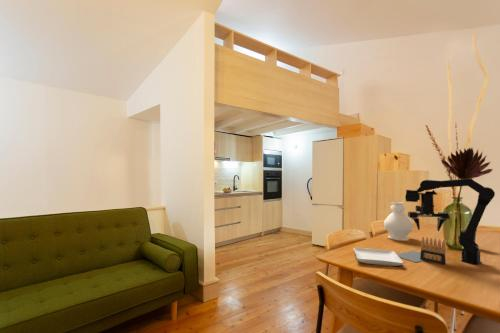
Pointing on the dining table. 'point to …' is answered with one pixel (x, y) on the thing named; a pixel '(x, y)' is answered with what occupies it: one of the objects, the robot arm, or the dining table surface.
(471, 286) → the dining table surface
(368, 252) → the salad plate
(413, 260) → the mat
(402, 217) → the decorative vase
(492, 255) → the dining table surface
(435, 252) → the ammunition clip
